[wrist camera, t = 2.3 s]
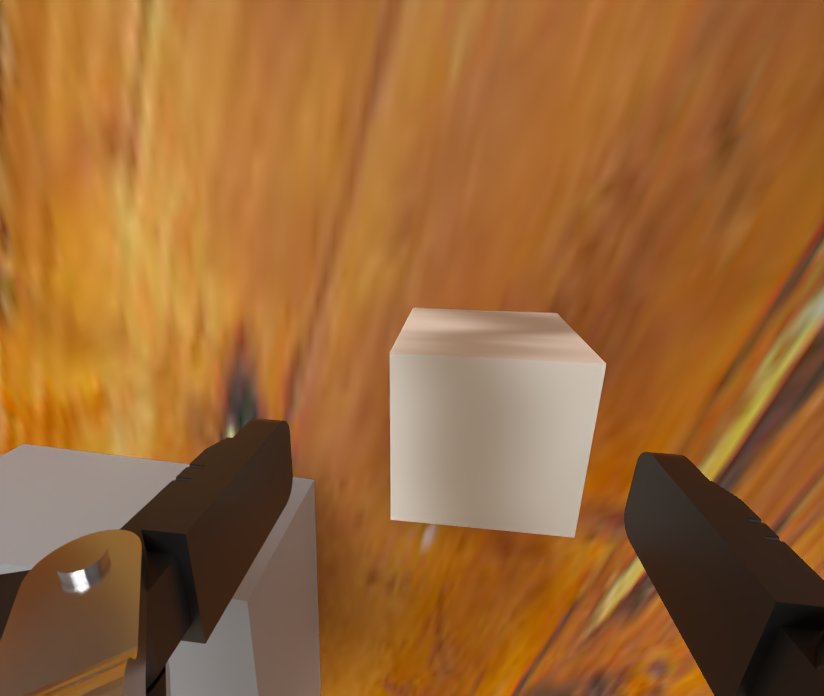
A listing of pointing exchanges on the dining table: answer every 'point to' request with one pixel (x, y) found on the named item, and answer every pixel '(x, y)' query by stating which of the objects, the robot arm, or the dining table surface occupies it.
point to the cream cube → (491, 420)
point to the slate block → (248, 609)
